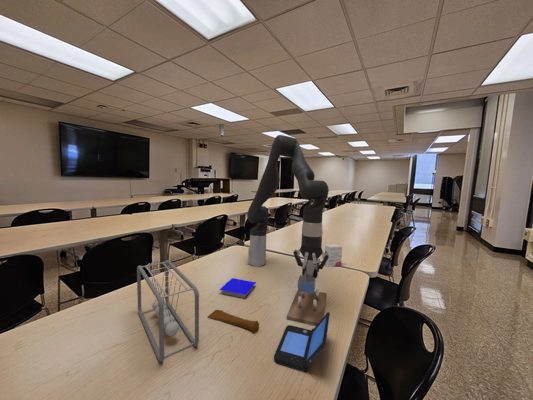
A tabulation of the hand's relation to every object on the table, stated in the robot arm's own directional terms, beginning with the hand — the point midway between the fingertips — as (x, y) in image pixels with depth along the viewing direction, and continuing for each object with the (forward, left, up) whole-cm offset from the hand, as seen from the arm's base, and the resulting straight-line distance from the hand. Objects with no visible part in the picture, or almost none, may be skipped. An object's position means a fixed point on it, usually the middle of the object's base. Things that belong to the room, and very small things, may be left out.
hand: (309, 277), depth 88 cm
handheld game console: (+2, -23, -12) cm, 26 cm away
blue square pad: (-31, +2, -12) cm, 33 cm away
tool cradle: (0, 0, -12) cm, 12 cm away
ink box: (+7, +49, -12) cm, 51 cm away
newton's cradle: (-42, -30, -12) cm, 52 cm away
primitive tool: (-23, -19, -12) cm, 32 cm away
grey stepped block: (0, 0, 0) cm, 0 cm away
